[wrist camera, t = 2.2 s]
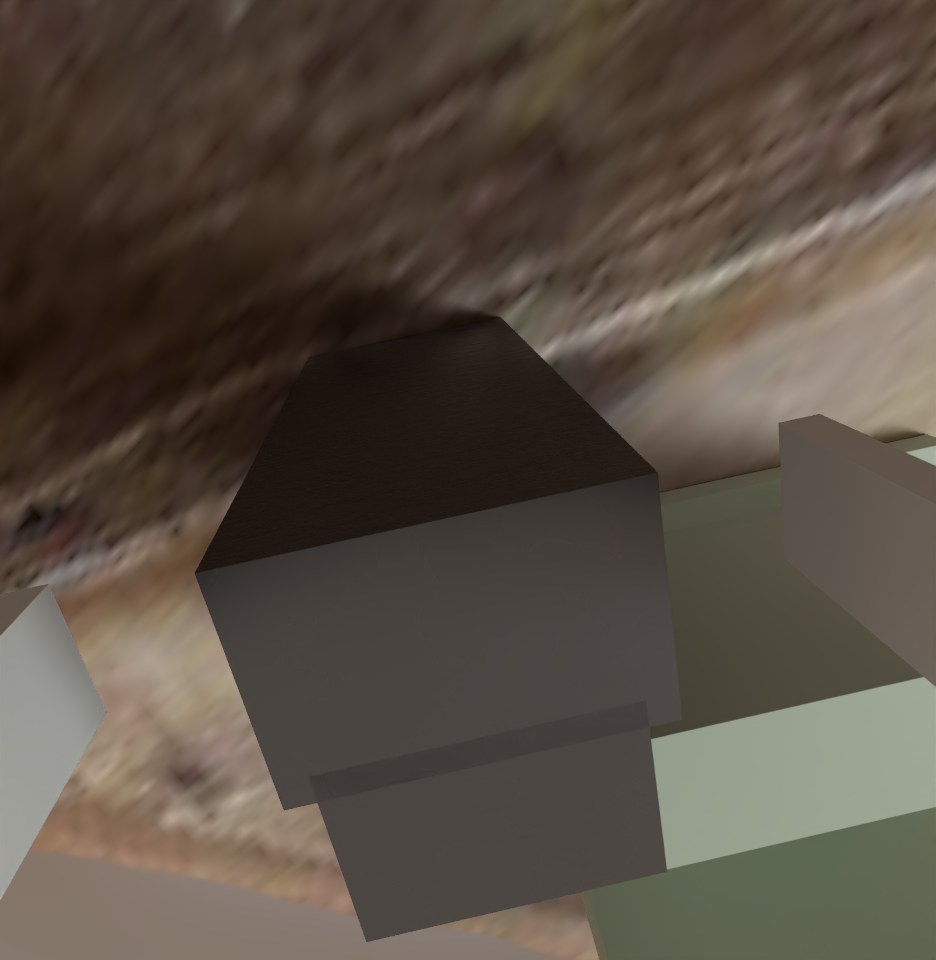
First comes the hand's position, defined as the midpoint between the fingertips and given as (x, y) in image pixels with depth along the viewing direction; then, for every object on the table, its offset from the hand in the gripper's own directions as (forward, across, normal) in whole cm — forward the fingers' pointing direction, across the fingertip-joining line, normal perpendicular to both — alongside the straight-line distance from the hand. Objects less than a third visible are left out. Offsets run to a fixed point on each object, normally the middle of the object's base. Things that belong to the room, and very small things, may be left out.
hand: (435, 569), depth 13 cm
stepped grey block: (+11, 0, -1) cm, 11 cm away
